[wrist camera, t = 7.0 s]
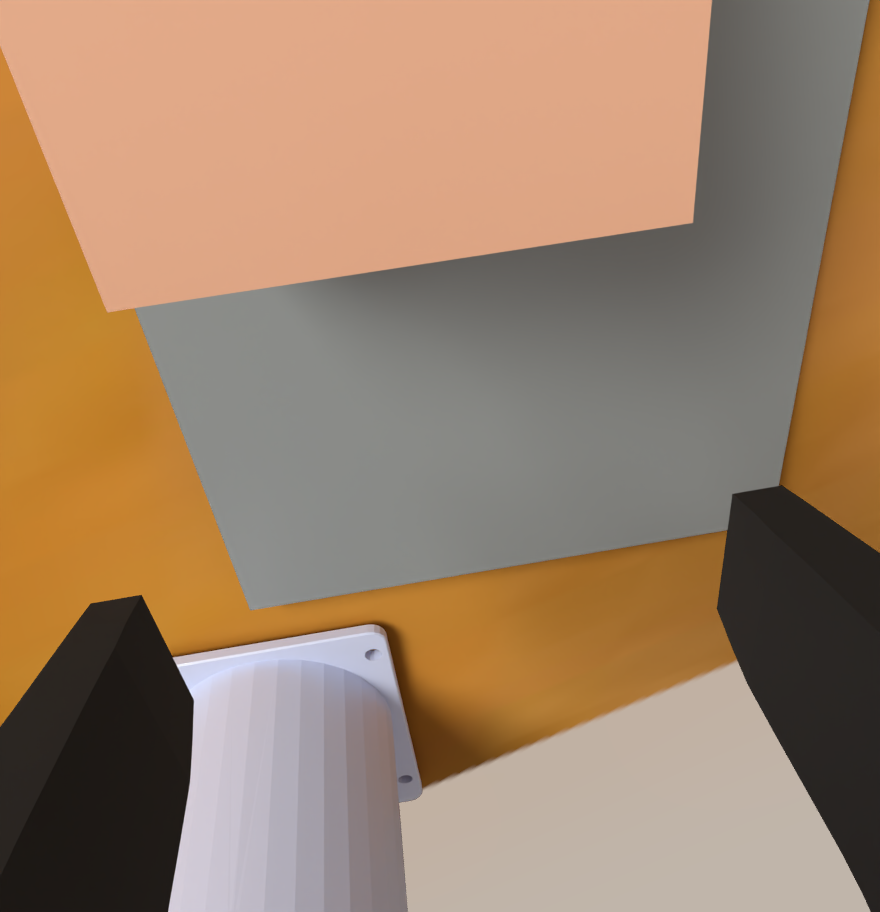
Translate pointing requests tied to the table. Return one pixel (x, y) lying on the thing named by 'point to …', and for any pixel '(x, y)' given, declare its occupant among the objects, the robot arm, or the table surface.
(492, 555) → the plate
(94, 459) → the table surface
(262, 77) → the orange brick
